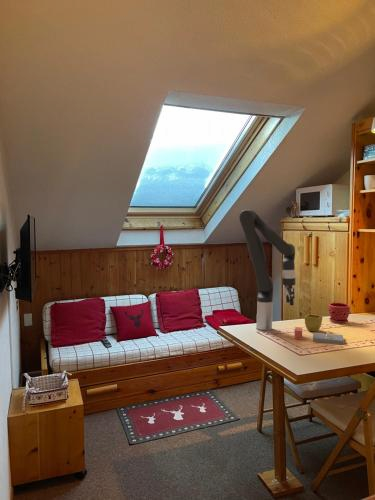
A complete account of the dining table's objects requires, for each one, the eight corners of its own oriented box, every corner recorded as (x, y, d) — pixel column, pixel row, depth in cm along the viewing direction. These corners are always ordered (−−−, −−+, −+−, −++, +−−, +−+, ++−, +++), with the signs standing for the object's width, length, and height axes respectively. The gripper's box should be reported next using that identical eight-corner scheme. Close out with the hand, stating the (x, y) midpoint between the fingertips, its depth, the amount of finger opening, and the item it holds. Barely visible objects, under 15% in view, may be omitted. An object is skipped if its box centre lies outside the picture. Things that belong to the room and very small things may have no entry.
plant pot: (324, 320, 270) (324, 303, 269) (340, 319, 274) (340, 302, 273) (336, 325, 258) (337, 306, 257) (353, 323, 262) (354, 305, 261)
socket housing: (294, 339, 226) (294, 330, 226) (295, 335, 234) (295, 327, 234) (301, 339, 225) (301, 331, 225) (302, 336, 233) (302, 327, 232)
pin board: (312, 341, 221) (313, 332, 221) (313, 335, 233) (313, 327, 232) (343, 344, 216) (344, 335, 216) (342, 338, 228) (342, 329, 228)
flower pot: (308, 327, 251) (308, 313, 251) (322, 329, 246) (322, 315, 246) (303, 330, 244) (304, 316, 243) (318, 333, 239) (318, 318, 238)
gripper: (280, 275, 246) (280, 301, 247) (285, 278, 232) (286, 306, 233) (292, 275, 246) (293, 301, 247) (298, 278, 232) (299, 305, 233)
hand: (289, 303), depth 240 cm, fingers open, 8 cm apart
